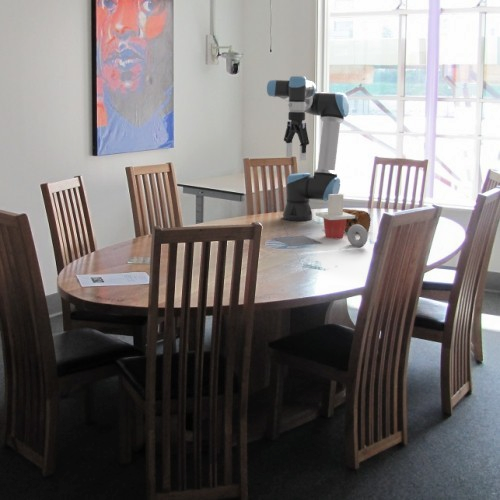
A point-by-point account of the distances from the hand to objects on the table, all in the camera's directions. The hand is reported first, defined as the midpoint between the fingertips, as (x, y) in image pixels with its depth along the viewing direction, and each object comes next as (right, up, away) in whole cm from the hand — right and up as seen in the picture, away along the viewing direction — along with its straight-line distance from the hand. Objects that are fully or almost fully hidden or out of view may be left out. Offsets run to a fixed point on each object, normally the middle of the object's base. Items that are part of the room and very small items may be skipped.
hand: (295, 158), depth 367 cm
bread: (+26, -32, +19) cm, 46 cm away
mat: (0, -38, -11) cm, 39 cm away
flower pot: (+18, -36, -1) cm, 40 cm away
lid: (+18, -26, -3) cm, 32 cm away
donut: (+25, -40, -20) cm, 52 cm away
